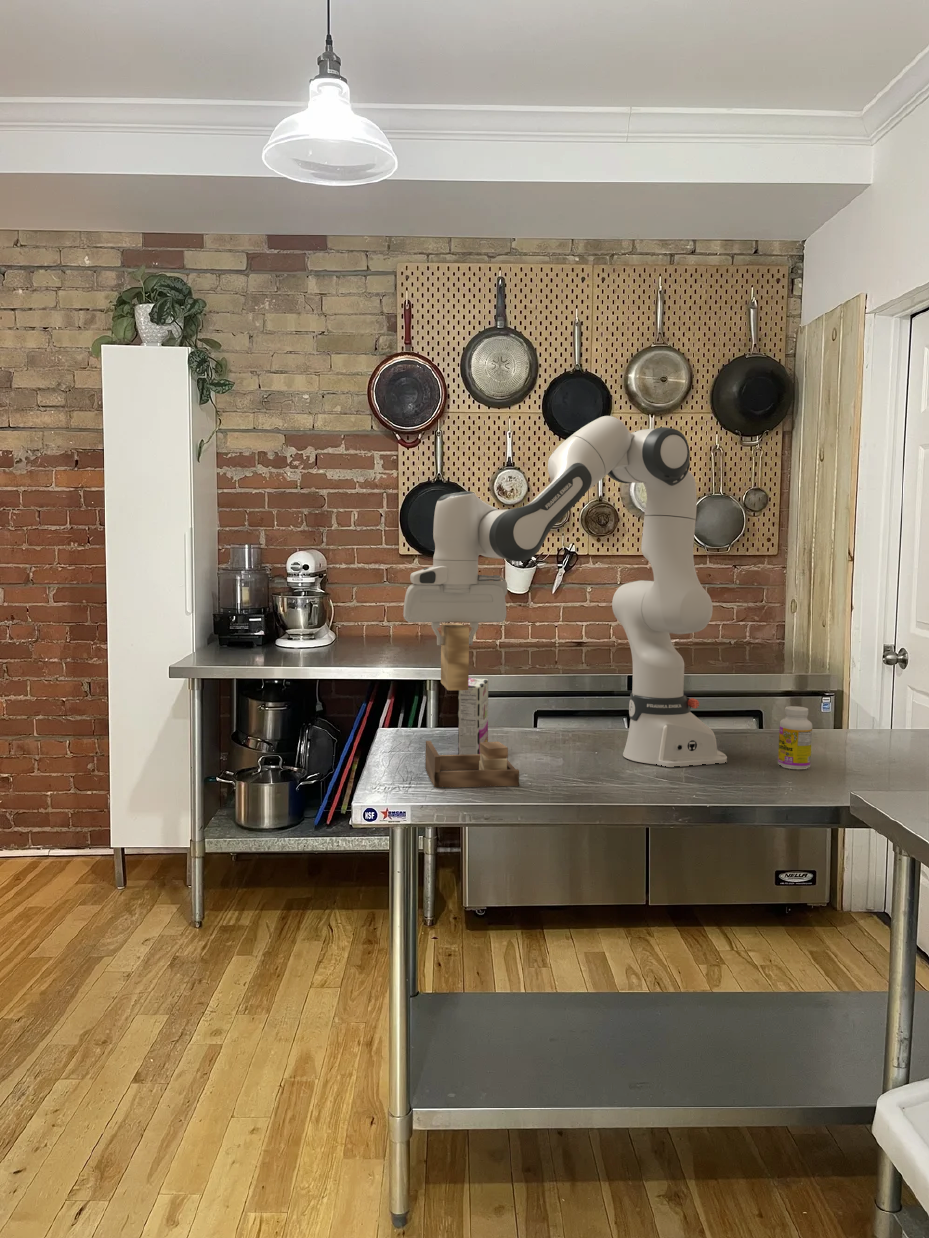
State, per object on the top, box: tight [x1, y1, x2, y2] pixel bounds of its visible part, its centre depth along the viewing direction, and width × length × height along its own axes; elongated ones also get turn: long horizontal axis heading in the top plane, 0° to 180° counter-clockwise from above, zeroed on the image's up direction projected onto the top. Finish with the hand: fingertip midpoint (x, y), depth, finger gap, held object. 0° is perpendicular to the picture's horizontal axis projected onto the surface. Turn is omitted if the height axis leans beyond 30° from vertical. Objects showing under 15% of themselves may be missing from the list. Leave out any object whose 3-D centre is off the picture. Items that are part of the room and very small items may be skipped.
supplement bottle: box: [777, 705, 813, 768], centre depth 203 cm, size 7×7×13 cm
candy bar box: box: [457, 677, 489, 755], centre depth 209 cm, size 11×5×16 cm, turn 168°
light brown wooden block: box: [440, 623, 470, 691], centre depth 187 cm, size 4×10×12 cm, turn 9°
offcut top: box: [480, 741, 509, 759], centre depth 190 cm, size 4×6×2 cm, turn 16°
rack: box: [424, 740, 520, 788], centre depth 190 cm, size 16×14×6 cm
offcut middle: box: [480, 753, 508, 770], centre depth 190 cm, size 4×8×2 cm, turn 5°
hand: (454, 645), depth 187 cm, fingers closed on light brown wooden block, 4 cm apart
